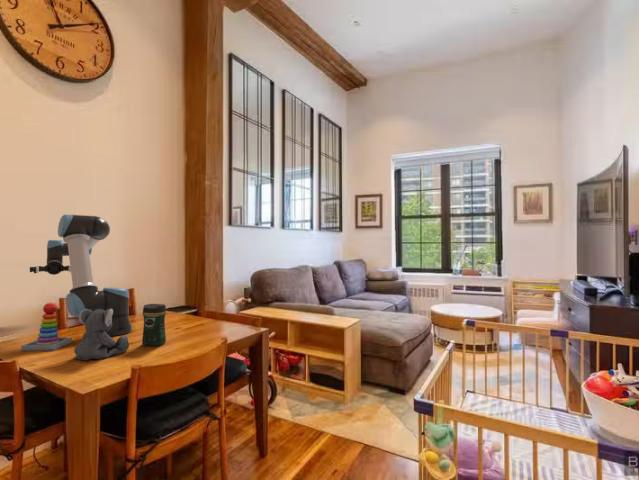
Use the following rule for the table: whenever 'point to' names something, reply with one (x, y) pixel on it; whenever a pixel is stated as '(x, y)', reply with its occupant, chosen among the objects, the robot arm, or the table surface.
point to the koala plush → (98, 336)
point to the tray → (34, 347)
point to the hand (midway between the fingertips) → (53, 269)
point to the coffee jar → (154, 324)
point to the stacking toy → (48, 326)
